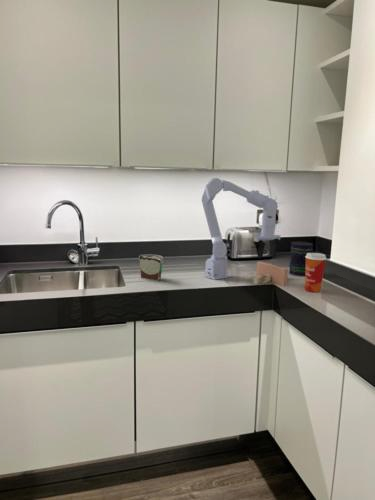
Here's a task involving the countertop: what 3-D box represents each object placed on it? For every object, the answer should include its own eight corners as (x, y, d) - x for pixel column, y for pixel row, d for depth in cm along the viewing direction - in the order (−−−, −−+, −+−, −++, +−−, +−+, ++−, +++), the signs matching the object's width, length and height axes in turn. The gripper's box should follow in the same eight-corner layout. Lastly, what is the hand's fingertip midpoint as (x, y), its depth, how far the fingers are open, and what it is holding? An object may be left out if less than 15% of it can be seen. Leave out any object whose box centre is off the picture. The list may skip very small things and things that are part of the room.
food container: (169, 278, 164) (169, 256, 162) (161, 281, 159) (161, 258, 157) (146, 274, 170) (146, 253, 169) (138, 277, 165) (138, 255, 163)
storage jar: (308, 277, 174) (311, 245, 171) (287, 274, 178) (289, 243, 175) (311, 272, 183) (314, 242, 180) (290, 270, 187) (293, 240, 184)
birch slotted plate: (256, 284, 160) (256, 277, 159) (253, 283, 161) (253, 276, 161) (287, 278, 171) (288, 271, 170) (284, 277, 172) (284, 271, 172)
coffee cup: (299, 287, 157) (302, 252, 154) (318, 287, 157) (321, 252, 155) (306, 293, 149) (310, 256, 146) (326, 293, 149) (330, 256, 146)
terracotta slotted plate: (286, 284, 160) (287, 268, 159) (283, 285, 159) (284, 269, 158) (259, 276, 173) (260, 261, 172) (256, 276, 172) (257, 262, 171)
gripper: (263, 228, 157) (260, 259, 160) (286, 226, 165) (284, 256, 168) (251, 225, 163) (249, 256, 165) (274, 224, 171) (272, 253, 174)
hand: (266, 256), depth 167 cm, fingers open, 7 cm apart
